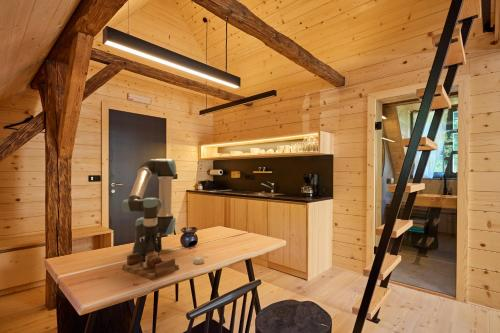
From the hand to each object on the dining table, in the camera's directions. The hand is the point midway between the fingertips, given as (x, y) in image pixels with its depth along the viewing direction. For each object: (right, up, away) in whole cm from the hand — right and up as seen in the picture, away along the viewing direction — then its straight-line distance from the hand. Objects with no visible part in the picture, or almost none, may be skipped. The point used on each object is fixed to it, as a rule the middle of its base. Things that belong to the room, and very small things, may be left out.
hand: (150, 265), depth 152 cm
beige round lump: (+25, -3, +11) cm, 28 cm away
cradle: (0, -2, 0) cm, 2 cm away
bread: (+1, -2, -1) cm, 2 cm away
